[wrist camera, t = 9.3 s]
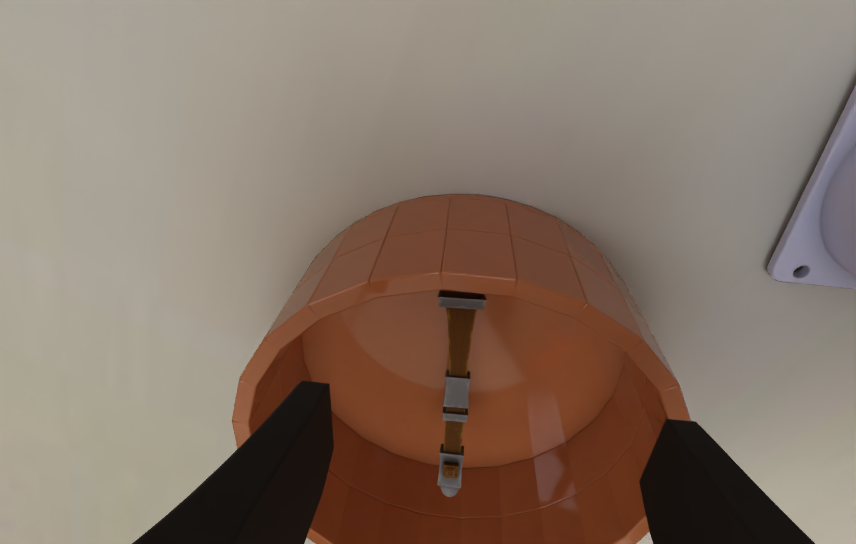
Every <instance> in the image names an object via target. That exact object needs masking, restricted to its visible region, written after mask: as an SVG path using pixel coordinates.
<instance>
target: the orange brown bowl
mask: <svg viewBox="0 0 856 544" xmlns="http://www.w3.org/2000/svg"><path fill="white" fill-rule="evenodd" d="M440 290H442V291H457V292H470V293H480V294H485V296H486V299H487V301H486V302H485V306H484V308H485V310H478V309H477V312H476V316H475V321H474V325H473V332H472V339H471V346H470V352H469V359H468V371H470V383H469V391H468V406H469V408H468V417H467V422H464V425H463V435H462V444H461V446H464V458H463V462H462V474H461V475H462V481H461V488H459V489H458V492H457V494H456V495H454V496H452V497H447V496H446V495H444V494H443V493H442V490H441V486H438V485H437V481H438V474H439V466H440V446H441V443H443V444H444V434H445V421H446V420H442V417H443V414H442V412H443V410H442V407H443V399H444V395H445V390H446V387H445V382H446V378H445V376H446V369H447V370H449V336H448V320H447V312H446V307H438V306H439V299H438V294H439V292H440ZM301 381H310V382H320V383H330V398H331V412H332V426H333V440H334V450H333V454H332V458H331V462H330V466H329V470H328V474H327V478H326V482H325V486H324V489H323V493H322V496H321V499H320V502H319V504H318V507H317V510H316V513H315V515H314V518H313V521H312V524H311V526H310V529H309V532H308V535H307V538H308V539H310V540H311V541H313V542H314V543H316V544H636V543H637V542H638V541H640V540H641V539H642V538H643V537H644V536H645V535H646V534H647V533H648V532H649V527H648V522H647V518H646V514H645V509H644V504H643V499H642V494H641V489H640V484H639V481H640V478H641V476H642V474H643V471H644V469H645V467H646V464H647V462H648V459H649V457H650V455H651V452H652V450H653V448H654V445H655V443H656V441H657V438H658V436H659V434H660V431H661V429H662V427H663V424H664V422H665V420H666V419H674V420H683V421H691V420H690V417H689V413H688V410H687V407H686V404H685V401H684V398H683V395H682V391H681V388H680V385H679V383H678V381H677V379H676V378H675V376H674V374H673V372H672V370H671V368H670V366H669V364H668V363H667V361H666V359H665V357H664V355H663V353H662V351H661V349H660V348H659V346H658V344H657V342H656V340H655V338H654V336H653V334H652V333H651V331H650V329H649V327H648V325H647V323H646V321H645V319H644V318H643V316H642V314H641V312H640V310H639V308H638V306H637V304H636V303H635V301H634V299H633V297H632V295H631V293H630V291H629V289H628V288H627V286H626V284H625V283H624V282H623V280H622V279H621V278H620V277H619V275H618V274H617V272H616V271H615V269H614V268H613V266H612V265H611V263H610V262H609V261H608V259H607V258H606V257H605V256H604V255H603V254H602V253H601V252H600V251H599V250H598V248H597V247H596V246H595V245H594V244H592V243H591V242H590V241H589V240H588V239H586V238H585V237H584V236H583V235H581V234H580V233H579V232H578V231H577V230H575V229H574V228H572V227H570V226H569V225H567V224H565V223H564V222H562V221H560V220H559V219H557V218H555V217H553V216H551V215H549V214H547V213H544V212H542V211H540V210H537V209H535V208H533V207H530V206H527V205H523V204H520V203H516V202H513V201H510V200H506V199H501V198H494V197H488V196H481V195H461V194H448V195H438V196H427V197H421V198H417V199H413V200H408V201H404V202H399V203H397V204H394V205H391V206H389V207H386V208H383V209H380V210H378V211H375V212H373V213H372V214H370V215H368V216H366V217H364V218H362V219H360V220H358V221H356V222H355V223H353V224H352V225H351V226H349V227H348V228H347V229H345V230H344V231H342V232H341V233H340V234H338V235H337V236H336V237H335V238H334V239H333V240H332V241H331V242H330V243H329V244H328V245H327V246H326V247H325V248H324V249H323V250H322V251H321V252H320V253H319V254H318V255H317V256H316V257H315V259H314V260H313V262H312V263H311V265H310V267H309V268H308V270H307V271H306V273H305V274H304V276H303V278H302V279H301V281H300V282H299V284H298V286H297V287H296V289H295V290H294V292H293V293H292V295H291V297H290V298H289V300H288V301H287V303H286V304H285V306H284V308H283V309H282V311H281V312H280V314H279V315H278V317H277V319H276V320H275V322H274V323H273V325H272V326H271V328H270V330H269V331H268V333H267V334H266V336H265V337H264V339H263V341H262V342H261V344H260V345H259V347H258V349H257V350H256V352H255V353H254V355H253V357H252V358H251V360H250V361H249V363H248V365H247V366H246V368H245V370H244V371H243V373H242V374H241V376H240V379H239V382H238V388H237V394H236V400H235V405H234V411H233V417H232V424H233V429H234V434H235V439H236V444H237V449H238V448H239V447H240V446H241V445H242V444H243V443H244V442H245V441H246V440H247V439H248V438H249V437H250V436H251V435H252V434H253V433H254V432H255V431H256V430H257V429H258V428H259V427H260V425H261V424H262V423H263V422H264V421H265V420H266V419H267V418H268V417H269V416H270V415H271V414H272V412H273V411H274V410H275V409H276V408H277V407H278V406H279V405H280V404H281V402H282V401H283V400H284V399H285V398H286V397H287V396H288V395H289V393H290V392H291V391H292V390H293V389H294V388H295V387H296V385H297V384H298V383H300V382H301Z"/></svg>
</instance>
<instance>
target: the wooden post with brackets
mask: <svg viewBox="0 0 856 544" xmlns="http://www.w3.org/2000/svg"><path fill="white" fill-rule="evenodd" d="M438 299H439V306H438V307H446V312H447V320H448V336H449V370H447V369H446V376H445V378H446V382H445V387H446V390H445V395H444V399H443V407H442V410H443V412H442V414H443V417H442V420H446V421H445V434H444V444H443V443H441V446H440V466H439V474H438V481H437V485H438V486H441V490H442V493H443V494H444V495H446V496H447V497H452V496H454V495H456V494H457V492H458V489H459V488H461V481H462V475H461V474H462V462H463V458H464V446H461V444H462V435H463V425H464V422H467V417H468V408H469V406H468V391H469V383H470V371H468V359H469V352H470V346H471V339H472V332H473V325H474V321H475V316H476V312H477V309H478V310H485V308H484V306H485V302H486V301H487V299H486V296H485V294H480V293H470V292H457V291H442V290H440V292H439V294H438Z"/></svg>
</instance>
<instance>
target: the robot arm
mask: <svg viewBox="0 0 856 544" xmlns="http://www.w3.org/2000/svg"><path fill="white" fill-rule="evenodd" d="M800 266H803V267H802V269H801V270H800V271H798V272H796V273H794V271H795V269H796V268H798V267H800ZM767 271H768V274H769V275H771V276H772V277H773V278H774V279H775V280H776V281H780V282H789V283H799V284H809V285H819V286H830V287H840V288H850V289H856V85H855V87H854V89H853V92H852V94H851V96H850V98H849V100H848V102H847V104H846V106H845V108H844V110H843V112H842V114H841V116H840V118H839V120H838V122H837V124H836V126H835V129H834V131H833V133H832V135H831V137H830V139H829V141H828V143H827V145H826V147H825V149H824V151H823V153H822V155H821V157H820V159H819V161H818V163H817V165H816V168H815V170H814V172H813V174H812V176H811V178H810V180H809V182H808V184H807V186H806V188H805V190H804V192H803V194H802V196H801V198H800V200H799V202H798V205H797V207H796V209H795V211H794V213H793V215H792V217H791V219H790V221H789V223H788V225H787V227H786V229H785V231H784V233H783V235H782V237H781V239H780V242H779V244H778V246H777V248H776V250H775V252H774V254H773V256H772V258H771V260H770V262H769V264H768V268H767ZM333 450H334V440H333V426H332V412H331V398H330V383H320V382H310V381H301V382H300V383H298V384H297V385H296V387H295V388H294V389H293V390H292V391H291V392H290V393H289V395H288V396H287V397H286V398H285V399H284V400H283V401H282V402H281V404H280V405H279V406H278V407H277V408H276V409H275V410H274V411H273V412H272V414H271V415H270V416H269V417H268V418H267V419H266V420H265V421H264V422H263V423H262V424H261V425H260V427H259V428H258V429H257V430H256V431H255V432H254V433H253V434H252V435H251V436H250V437H249V438H248V439H247V440H246V441H245V442H244V443H243V444H242V445H241V446H240V447H239V448H238V449H237V450H236V451H235V452H234V453H233V454H232V455H231V456H230V457H229V458H228V459H227V460H226V461H225V462H224V463H223V464H222V465H221V466H220V467H219V468H218V469H217V470H216V471H215V472H214V473H213V474H212V475H211V476H209V477H208V478H207V479H206V480H205V481H204V482H203V483H202V484H201V485H200V486H199V487H198V488H197V489H196V490H195V491H193V492H192V493H191V494H190V495H189V496H188V497H187V498H186V499H185V500H184V501H182V502H181V503H180V504H179V505H178V506H177V507H176V508H174V509H173V510H172V511H171V512H170V513H169V514H168V515H166V516H165V517H164V518H163V519H162V520H160V521H159V522H158V523H157V524H156V525H154V526H153V527H152V528H151V529H150V530H148V531H147V532H146V533H145V534H143V535H142V536H141V537H140V538H139V539H137V540H136V541H135V542H134V543H132V544H304V543H305V540H306V537H307V535H308V532H309V529H310V526H311V524H312V521H313V518H314V515H315V513H316V510H317V507H318V504H319V502H320V499H321V496H322V493H323V489H324V486H325V482H326V478H327V474H328V470H329V466H330V462H331V458H332V454H333ZM639 484H640V489H641V494H642V499H643V504H644V509H645V514H646V518H647V522H648V527H649V531H650V534H651V537H652V541H653V544H815V543H814V542H813V541H812V540H811V539H810V538H809V537H808V536H807V535H806V534H805V533H804V532H803V531H802V530H801V529H800V528H799V527H798V526H797V525H796V524H795V523H794V522H793V521H792V520H791V519H790V518H789V517H788V516H787V515H786V514H785V513H784V512H783V511H782V510H781V509H780V508H779V507H778V506H777V505H776V504H775V503H774V502H773V501H772V500H771V499H770V498H769V497H768V496H767V495H766V494H765V493H764V492H763V491H762V490H761V489H760V488H759V487H758V486H757V485H756V484H755V483H754V482H753V481H752V480H751V479H750V477H749V476H748V475H747V474H746V473H745V472H744V471H743V470H742V469H741V468H740V467H739V466H738V465H737V464H736V463H735V462H734V461H733V460H732V459H731V458H730V457H729V455H728V454H727V453H726V452H725V451H724V450H723V449H722V448H721V447H720V446H719V445H718V444H717V443H716V442H715V441H714V440H713V439H712V438H711V437H710V436H709V435H708V434H707V433H706V432H705V431H704V430H703V429H702V428H701V427H700V426H699V425H698V424H697V423H696V422H693V421H683V420H674V419H666V420H665V422H664V424H663V427H662V429H661V431H660V434H659V436H658V438H657V441H656V443H655V445H654V448H653V450H652V452H651V455H650V457H649V459H648V462H647V464H646V467H645V469H644V471H643V474H642V476H641V478H640V481H639Z"/></svg>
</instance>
